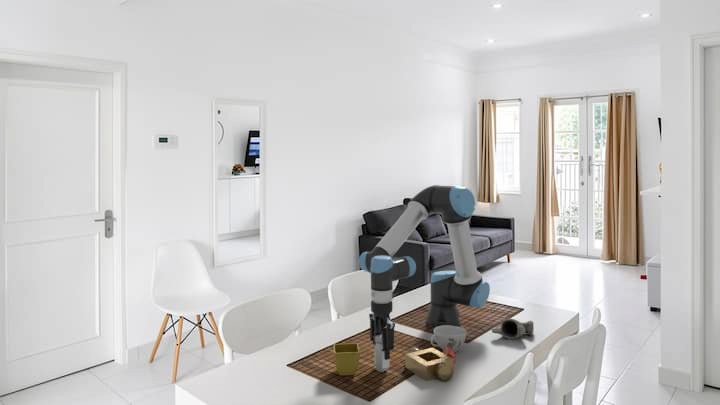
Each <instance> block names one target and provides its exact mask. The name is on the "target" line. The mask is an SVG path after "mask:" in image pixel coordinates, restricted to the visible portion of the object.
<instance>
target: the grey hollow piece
mask: <svg viewBox="0 0 720 405" xmlns="http://www.w3.org/2000/svg"><path fill="white" fill-rule="evenodd" d="M491 333H493V334H498V335H501V336H502V337H503V338H505V339H508V340H515V339H517V338H521V337H523V336H524V335H525V334H526V335H528V336H531V337H532V336H533V335H534V322H533V321H532V320H528V321H527V322H520V321H519V320H517V319H514V318H505V319H503V320H502V321H500V322H499V323H498V324H497V325H496V326H494V327H492V328H491Z"/></svg>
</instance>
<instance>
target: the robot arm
mask: <svg viewBox="0 0 720 405" xmlns="http://www.w3.org/2000/svg"><path fill="white" fill-rule="evenodd" d="M475 209H476V199H475V195H474V194H473V192H472V190H470V189H469V188H467V187H464V186H460V185H454V186H453V185H439V184H436V185H435V184H434V185H431V186H428V187H425V188H424V189H422V190H420V191H419V192H418V193H417V194H416V195H415V196H413V197H412V198H411V199H410V201H409V202H408V203H407V208H406V209H405V210H404V212H402V214H401V215H400V217H399V218H398V219H397V220H396V221H395V222H394V224H393V225H392V226H391V227H390V228H389V229H388V231H387V232H386V233H385V235H384V236H382V237H381V239H380V241H379V242H378V243H377V244H376V245H375V247H374V248H373V249H372V250H371V251H363V252H362V253H361V254H360V256H359V258H358V265H359V268H360V269H361V270H362V271H364V272H367V273H368V274H369V273H370V299H371V302H370V311H371V313H369V314H368V318H369V330H370V331H369V335H370V341H371V342H372V344H373V351H374V352H373V353H374V354H373V356H374V358H373V360H374V362H373V363H374V364H375V365H376V342H375V336H376V335H379V334H382V343H383V349H381V350H382V368H383V369H384V368H388V369H389V368H390V361H391V360H390V359H391V355H390V354H391V351H393V350H394V349H395V327H396V323H395V322H392V321H391V317H390V316H391V315H390V314H391V313H393V297H394V296H393V292H394V291H393V282H395V281H399V280H403V279H408V278H409V277H412V276H414V275H415V273H416V270H417V265H416V261H415V260H414V258H412V257H411V256H406V255H405V256H401V257H397V256H394V255H395V254H396V253H397V251H399V249H400V248H401V247H402V245H403V244H404V243H405V242H406V240H407V239H408V238H409V237H410V236H411V234H412V233H413V232H414V230H415V229H416V228H417V227H418V225H419V224H420V223H421V222H422V220H423V221H424V220H426V219H427V218H428V217H429V216H430V215H433V214H437V215H441V220H442V222H443V223H444V224H445V225H447V229H448V230H447V231H448V235H449V241H450V242H449V243H450V246H451V247H450V248H451V252H452V256H453V263H454V268H455V270H439V271H435V272H432V274H431V275H430V305H429V309H428V312H427V315H426V323H427V325H429V326H432V327H434V328H436V327H438V326H443V325H451V326H458V327H460V325H461V322H462V321H461V320H462V318H461V316H460V315H461V314H460V312H459V309H458V305H462V306H466V307H470V308H474V309H481V308H482V307H484V306H485V304H487V302H488V300H489V296H490V290H491V287H490V283H488V282H487V281H486V280H483V276H482V273H481V272H480V271H478V269H477V268H478V267H477V262H476V257H475V252H474V251H475V250H474V246H473V240H472V235H471V229H470V228H471V227H470V224H469V221H470V220H471V218H472V215H473V213H474V211H475Z"/></svg>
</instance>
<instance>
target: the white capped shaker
mask: <svg viewBox="0 0 720 405" xmlns="http://www.w3.org/2000/svg"><path fill="white" fill-rule="evenodd" d="M375 342H376V364H375V371H376V370H377V372H378V371H380V372H379V373H385V372H384V371H386V372H388V371H389V367H388V368H384V369H383V368H382V350H381V349H383V343H382V334H379V335H376V336H375ZM387 370H388V371H387Z"/></svg>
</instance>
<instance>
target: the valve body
mask: <svg viewBox="0 0 720 405" xmlns="http://www.w3.org/2000/svg"><path fill="white" fill-rule="evenodd" d="M404 358H405V360H404V361H405V362H404V363H405V364H404V365H405V367H404V368H405V369H407V370H408V371H409V372H411V373H413V374H415V375H416V376H418V377H419V378H421V379H422V380H424V381H430V380H432V379H433V380H434V379H435V378H438V379H440V380H442V381H444V382H449V381H450V380H451V379H452V378H453V375H454V371H455V370H454V368H455V367H454V366H455V364H456V362H457V361H456V360H457V358H456V354H455V352H453V350H452V349H450V348H447V349H444V351H443V350H442V352H441V351H440V350H438V349H436V348H435V347H429V348H425V349H419V348H418V347H415V346H412V347H410V348H409V349H408V350H407V353H405V355H404Z"/></svg>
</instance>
